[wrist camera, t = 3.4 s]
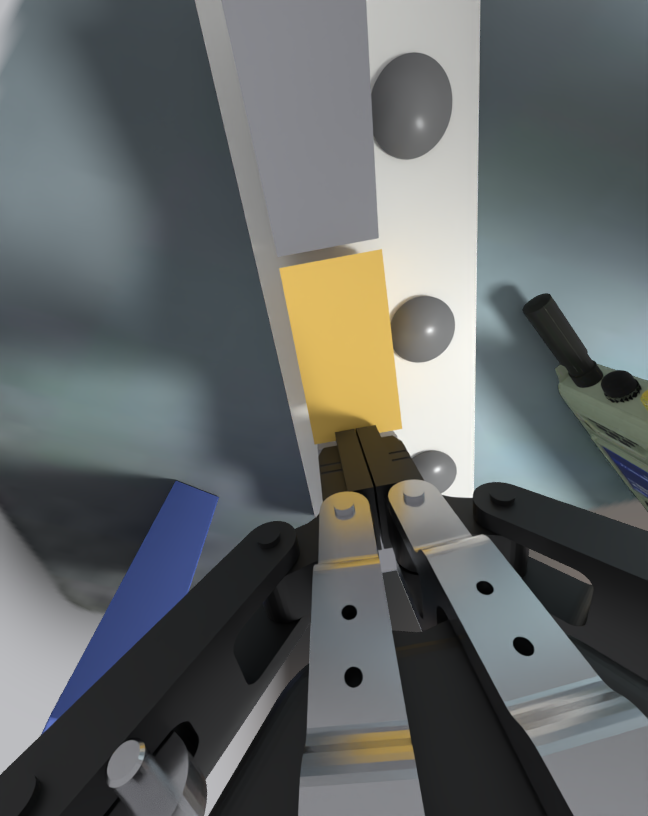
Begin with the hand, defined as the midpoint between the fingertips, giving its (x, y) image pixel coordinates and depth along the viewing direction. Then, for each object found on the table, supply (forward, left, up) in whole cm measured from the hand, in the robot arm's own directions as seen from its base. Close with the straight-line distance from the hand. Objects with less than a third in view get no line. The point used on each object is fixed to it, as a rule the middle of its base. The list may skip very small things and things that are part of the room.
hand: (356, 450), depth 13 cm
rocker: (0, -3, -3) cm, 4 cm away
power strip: (-2, -3, -7) cm, 8 cm away
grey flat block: (0, -10, -3) cm, 11 cm away
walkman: (+12, +8, -7) cm, 16 cm away
